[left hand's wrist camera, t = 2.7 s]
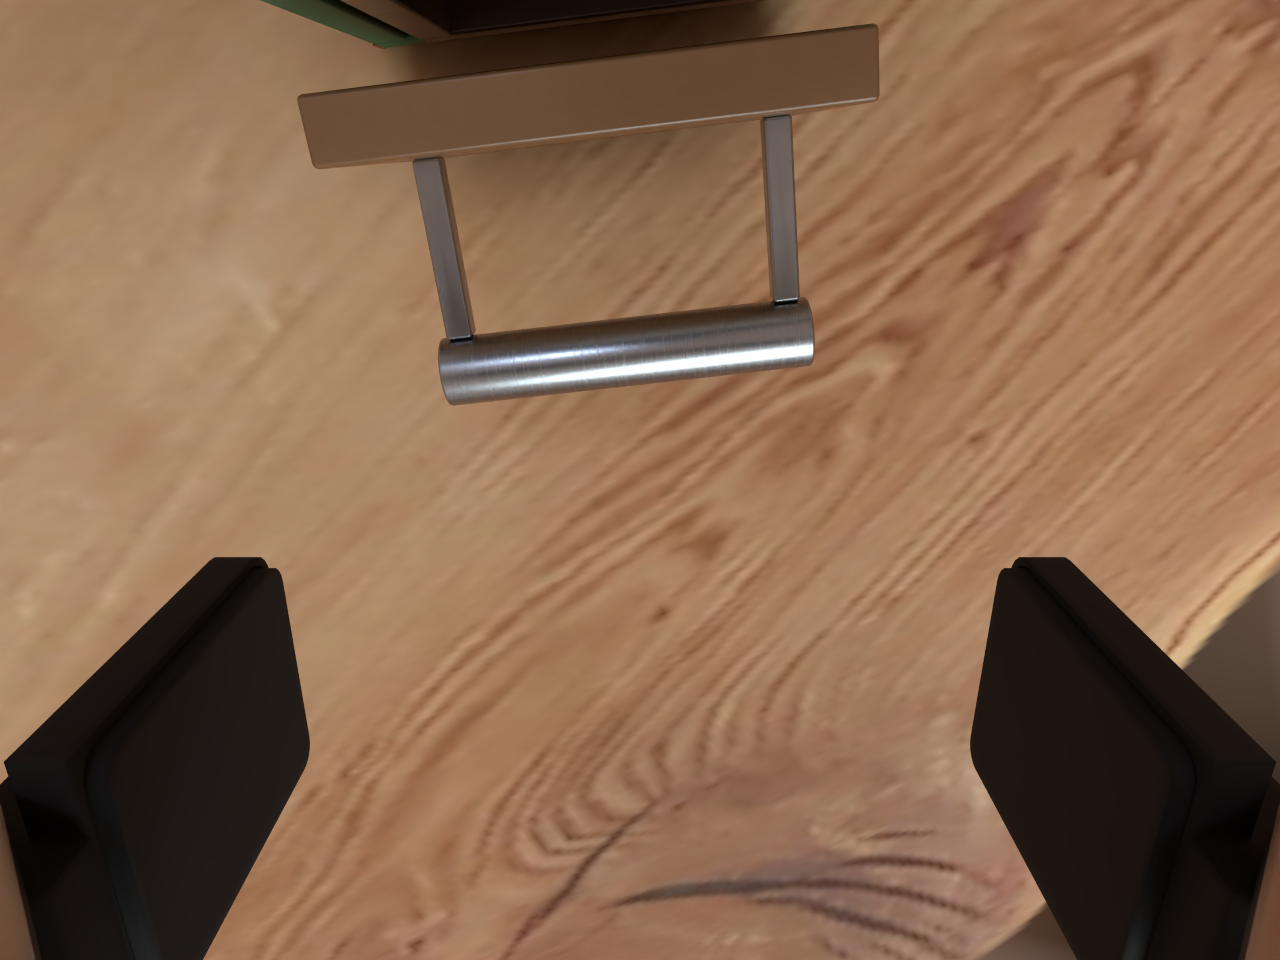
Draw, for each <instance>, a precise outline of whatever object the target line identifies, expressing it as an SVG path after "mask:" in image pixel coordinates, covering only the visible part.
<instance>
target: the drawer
mask: <svg viewBox="0 0 1280 960" xmlns="http://www.w3.org/2000/svg"><path fill="white" fill-rule="evenodd" d="M341 1H343V2H345V3H347V4H349V5H351V6H353V7H355V8H357V9H359V10H361V11H363V12H365V13H367V14H369V15H371V16H373V17H375V18H377V19H379V20H381V21H384V22H386V23H388V24H390V25H392V26H394V27H396V28H398V29H400V30H402V31H404V32H406V33H408V34H410V35H412V36H414V37H416V38H418V39H422V40H424V41H426V42H429V43H430V42H438V41H446V40H454V39H462V38H470V37H478V36H486V35H494V34H501V33H509V32H517V31H525V30H533V29H541V28H549V27H557V26H565V25H573V24H581V23H589V22H597V21H605V20H613V19H621V18H629V17H637V16H645V15H653V14H661V13H669V12H677V11H685V10H693V9H701V8H709V7H717V6H725V5H733V4H741V3H749V2H757V1H758V0H341ZM878 98H879V29H878V26H877V25H876V24H865V25H857V26H849V27H841V28H833V29H825V30H817V31H809V32H801V33H793V34H785V35H777V36H769V37H760V38H752V39H744V40H736V41H728V42H720V43H712V44H704V45H696V46H688V47H680V48H672V49H664V50H656V51H648V52H639V53H631V54H623V55H615V56H607V57H599V58H591V59H583V60H575V61H567V62H559V63H551V64H543V65H535V66H527V67H518V68H510V69H502V70H494V71H486V72H478V73H470V74H462V75H454V76H446V77H438V78H430V79H422V80H414V81H406V82H397V83H389V84H381V85H373V86H365V87H357V88H349V89H341V90H333V91H325V92H317V93H309V94H301V95H300V96H298V105H299V109H300V114H301V118H302V122H303V126H304V131H305V135H306V139H307V143H308V148H309V152H310V156H311V160H312V164H313V166H314V167H315V168H317V169H326V168H338V167H350V166H362V165H374V164H386V163H398V162H410V161H413V168H414V173H415V178H416V183H417V189H418V194H419V199H420V204H421V209H422V214H423V219H424V224H425V229H426V235H427V240H428V245H429V250H430V255H431V260H432V265H433V270H434V275H435V280H436V286H437V291H438V296H439V301H440V306H441V311H442V316H443V321H444V326H445V332H446V337H447V338H444V339H442V340H441V341H440V344H439V350H438V364H439V373H440V379H441V384H442V388H443V391H444V394H445V397H446V399H447V401H448V402H449V404H451V405H453V406H454V405H463V404H472V403H481V402H490V401H499V400H508V399H517V398H526V397H535V396H544V395H553V394H562V393H571V392H580V391H589V390H597V389H606V388H615V387H624V386H633V385H642V384H651V383H660V382H669V381H678V380H687V379H696V378H705V377H714V376H723V375H732V374H740V373H749V372H758V371H767V370H776V369H785V368H794V367H803V366H810V365H811V364H812V362H813V359H814V350H815V338H814V325H813V318H812V312H811V308H810V305H809V302H808V300H807V299H806V298H805V297H801V298H799V297H800V293H799V270H798V248H797V225H796V203H795V181H794V158H793V136H792V117H791V116H793V115H799V114H805V113H811V112H817V111H823V110H829V109H835V108H841V107H846V106H852V105H858V104H864V103H870V102H875V101H876V100H878ZM760 119H761V121H760V126H761V143H762V161H763V178H764V196H765V214H766V231H767V249H768V266H769V284H770V297H771V299H772V300H773V301H766V302H758V303H749V304H740V305H731V306H723V307H714V308H705V309H696V310H688V311H679V312H670V313H662V314H653V315H644V316H635V317H627V318H618V319H609V320H600V321H592V322H583V323H574V324H565V325H557V326H548V327H539V328H530V329H522V330H513V331H504V332H495V333H487V334H478V335H474V333H475V331H476V329H475V324H474V318H473V313H472V307H471V302H470V296H469V291H468V285H467V280H466V274H465V269H464V263H463V258H462V252H461V247H460V242H459V236H458V231H457V225H456V220H455V214H454V209H453V203H452V198H451V192H450V187H449V181H448V176H447V170H446V165H445V160H444V158H446V157H454V156H463V155H471V154H479V153H487V152H496V151H504V150H512V149H520V148H529V147H537V146H545V145H553V144H562V143H570V142H578V141H587V140H595V139H603V138H611V137H620V136H628V135H636V134H644V133H653V132H661V131H669V130H677V129H686V128H694V127H702V126H710V125H719V124H727V123H735V122H744V121H752V120H760Z"/></svg>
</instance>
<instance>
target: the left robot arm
mask: <svg viewBox="0 0 1280 960" xmlns="http://www.w3.org/2000/svg"><path fill="white" fill-rule="evenodd" d="M309 750H310V739H309V732H308V726H307V720H306V715H305V709H304V703H303V697H302V691H301V685H300V679H299V673H298V668H297V662H296V656H295V650H294V644H293V638H292V632H291V627H290V621H289V615H288V609H287V603H286V597H285V591H284V586H283V580H282V576H281V574H280V572H279V570H277V569H276V568H268V565H267V563H266V562H265V560H264V559H262V558H261V557H215V558H213V559H212V560H210V561H209V562H208V563H207V564H206V565H205V566H204V567H203V568H202V569H201V570H200V571H199V572H198V573H197V574H196V575H195V576H194V577H193V578H192V579H191V580H189V581H188V582H187V583H186V584H185V585H184V586H183V587H182V588H181V589H180V590H179V591H178V592H177V593H176V594H175V595H174V596H173V597H172V598H171V599H170V600H169V601H168V602H167V603H166V604H165V605H164V606H163V607H162V608H161V609H160V610H159V611H158V612H157V613H156V614H155V615H154V616H153V617H152V618H151V619H150V620H149V621H148V622H147V623H145V624H144V625H143V626H142V627H141V628H140V629H139V630H138V631H137V632H136V633H135V634H134V635H133V636H132V637H131V638H130V639H129V640H128V641H127V642H126V643H125V644H124V645H123V646H122V647H121V648H120V649H119V650H118V651H117V652H116V653H115V654H114V655H113V656H112V657H111V658H110V659H109V660H108V661H107V662H106V663H105V664H104V665H103V666H102V667H100V668H99V669H98V670H97V671H96V672H95V673H94V674H93V675H92V676H91V677H90V678H89V679H88V680H87V681H86V682H85V683H84V684H83V685H82V686H81V687H80V688H79V689H78V690H77V691H76V692H75V693H74V694H73V695H72V696H71V697H70V698H69V699H68V700H67V701H66V702H65V703H64V704H63V705H62V706H61V707H60V708H59V709H58V710H56V711H55V712H54V713H53V714H52V715H51V716H50V717H49V718H48V719H47V720H46V721H45V722H44V723H43V724H42V725H41V726H40V727H39V728H38V729H37V730H36V731H35V732H34V733H33V734H32V735H31V736H30V737H29V738H28V739H27V740H26V741H25V742H24V743H23V744H22V745H21V746H20V747H19V748H18V749H17V750H16V751H15V752H14V753H12V754H11V755H10V756H9V757H8V758H7V759H6V760H5V761H4V764H5V767H6V770H7V773H8V777H7V778H6V779H5V780H4V781H3V782H2V783H1V784H0V960H203V958H204V957H205V955H206V953H207V951H208V949H209V947H210V945H211V943H212V942H213V940H214V938H215V936H216V934H217V932H218V930H219V928H220V927H221V925H222V923H223V921H224V919H225V917H226V915H227V913H228V912H229V910H230V908H231V906H232V904H233V902H234V900H235V898H236V897H237V895H238V893H239V891H240V889H241V887H242V885H243V883H244V882H245V880H246V878H247V876H248V874H249V872H250V870H251V868H252V867H253V865H254V863H255V861H256V859H257V857H258V855H259V853H260V852H261V850H262V848H263V846H264V844H265V842H266V840H267V838H268V837H269V835H270V833H271V831H272V829H273V827H274V825H275V823H276V822H277V820H278V818H279V816H280V814H281V812H282V810H283V808H284V807H285V805H286V803H287V801H288V799H289V797H290V795H291V793H292V792H293V790H294V788H295V786H296V784H297V782H298V780H299V778H300V777H301V775H302V773H303V771H304V769H305V767H306V764H307V761H308V757H309ZM970 750H971V757H972V761H973V764H974V767H975V769H976V771H977V773H978V775H979V777H980V778H981V780H982V782H983V784H984V786H985V788H986V790H987V792H988V793H989V795H990V797H991V799H992V801H993V803H994V805H995V807H996V808H997V810H998V812H999V814H1000V816H1001V818H1002V820H1003V822H1004V823H1005V825H1006V827H1007V829H1008V831H1009V833H1010V835H1011V837H1012V838H1013V840H1014V842H1015V844H1016V846H1017V848H1018V850H1019V852H1020V853H1021V855H1022V857H1023V859H1024V861H1025V863H1026V865H1027V867H1028V868H1029V870H1030V872H1031V874H1032V876H1033V878H1034V880H1035V882H1036V883H1037V885H1038V887H1039V889H1040V891H1041V893H1042V895H1043V897H1044V898H1045V900H1046V902H1047V904H1048V906H1049V908H1050V910H1051V912H1052V913H1053V915H1054V917H1055V919H1056V921H1057V923H1058V925H1059V926H1060V928H1061V930H1062V932H1063V934H1064V936H1065V938H1066V940H1067V941H1068V943H1069V945H1070V947H1071V949H1072V951H1073V953H1074V955H1075V957H1076V958H1077V960H1280V784H1279V783H1278V782H1277V781H1276V780H1275V779H1274V778H1273V777H1272V773H1273V770H1274V767H1275V764H1276V761H1275V760H1274V759H1273V758H1272V757H1271V756H1270V755H1268V753H1266V752H1265V751H1264V750H1263V749H1262V748H1261V747H1260V746H1259V745H1258V744H1257V743H1256V742H1255V741H1254V740H1253V739H1252V738H1251V737H1250V736H1249V735H1248V734H1247V733H1246V732H1245V731H1244V730H1243V729H1242V728H1241V727H1240V726H1239V725H1238V724H1237V723H1236V722H1235V721H1234V720H1233V719H1232V718H1231V717H1230V716H1229V715H1228V714H1227V713H1226V712H1225V711H1224V710H1222V709H1221V708H1220V707H1219V706H1218V705H1217V704H1216V703H1215V702H1214V701H1213V700H1212V699H1211V698H1210V697H1209V696H1208V695H1207V694H1206V693H1205V692H1204V691H1203V690H1202V689H1201V688H1200V687H1199V686H1198V685H1197V684H1196V683H1195V682H1194V681H1193V680H1192V679H1191V678H1190V677H1189V676H1188V675H1187V674H1186V673H1185V672H1184V671H1183V670H1182V669H1181V668H1180V667H1179V666H1177V665H1176V664H1175V663H1174V662H1173V661H1172V660H1171V659H1170V658H1169V657H1168V656H1167V655H1166V654H1165V653H1164V652H1163V651H1162V650H1161V649H1160V648H1159V647H1158V646H1157V645H1156V644H1155V643H1154V642H1153V641H1152V640H1151V639H1150V638H1149V637H1148V636H1147V635H1146V634H1145V633H1144V632H1143V631H1142V630H1141V629H1140V628H1139V627H1138V626H1137V625H1136V624H1135V623H1133V622H1132V621H1131V620H1130V619H1129V618H1128V617H1127V616H1126V615H1125V614H1124V613H1123V612H1122V611H1121V610H1120V609H1119V608H1118V607H1117V606H1116V605H1115V604H1114V603H1113V602H1112V601H1111V600H1110V599H1109V598H1108V597H1107V596H1106V595H1105V594H1104V593H1103V592H1102V591H1101V590H1100V589H1099V588H1098V587H1097V586H1096V585H1095V584H1094V583H1093V582H1092V581H1091V580H1089V579H1088V578H1087V577H1086V576H1085V575H1084V574H1083V573H1082V572H1081V571H1080V570H1079V569H1078V568H1077V567H1076V566H1075V565H1074V564H1073V563H1072V562H1071V561H1070V560H1068V559H1067V558H1065V557H1019V558H1018V559H1016V560H1015V562H1014V563H1013V565H1012V568H1004V569H1003V570H1001V572H1000V574H999V576H998V580H997V586H996V591H995V597H994V603H993V609H992V615H991V621H990V627H989V632H988V638H987V644H986V650H985V656H984V662H983V668H982V673H981V679H980V685H979V691H978V697H977V703H976V709H975V715H974V720H973V726H972V732H971V739H970Z"/></svg>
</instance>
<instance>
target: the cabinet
mask: <svg viewBox="0 0 1280 960" xmlns="http://www.w3.org/2000/svg"><path fill="white" fill-rule="evenodd" d="M261 1H264V2H267V3H269V4H272V5H274V6H277V7H279V8H282V9H285V10H287V11H290V12H292V13H295V14H298V15H300V16H303V17H305V18H308V19H311V20H313V21H316V22H318V23H321V24H324V25H326V26H329V27H331V28H334V29H336V30H339V31H342V32H344V33H347V34H349V35H352V36H355V37H357V38H360V39H362V40H365V41H368V42H370V43H373V46H375V47H378V48H381V49H385V48H386V47H394V46H402V45H410V44H418V43H426V41H424V40H422V39H418V38H416V37H414V36H412V35H410V34H408V33H406V32H404V31H402V30H400V29H398V28H396V27H394V26H392V25H390V24H388V23H386V22H384V21H381V20H379V19H377V18H375V17H373V16H371V15H369V14H367V13H365V12H363V11H361V10H359V9H357V8H355V7H353V6H351V5H349V4H347V3H345V2H343V1H341V0H261ZM758 1H761V0H758Z"/></svg>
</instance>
